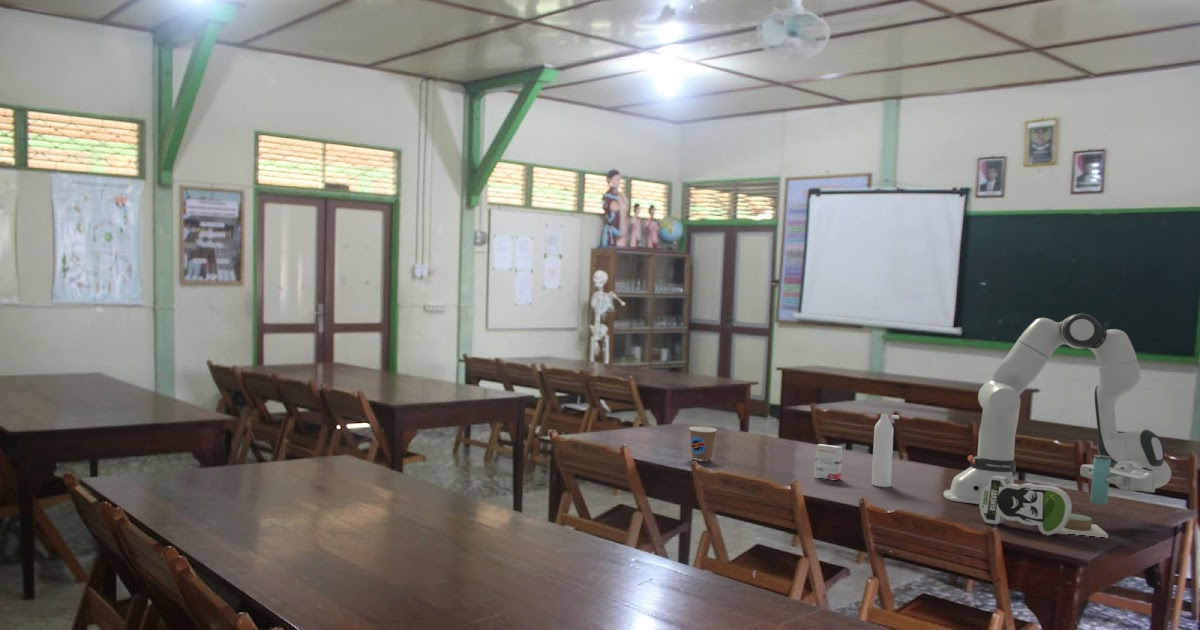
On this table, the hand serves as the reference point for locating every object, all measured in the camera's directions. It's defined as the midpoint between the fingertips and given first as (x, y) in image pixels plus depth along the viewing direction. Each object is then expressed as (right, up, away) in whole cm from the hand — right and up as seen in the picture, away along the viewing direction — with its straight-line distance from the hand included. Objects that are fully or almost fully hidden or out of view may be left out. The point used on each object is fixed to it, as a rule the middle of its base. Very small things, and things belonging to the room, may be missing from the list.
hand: (1098, 477), depth 281 cm
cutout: (-26, -14, -7) cm, 30 cm away
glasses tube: (0, -8, +1) cm, 8 cm away
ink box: (-68, -10, +55) cm, 88 cm away
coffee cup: (-110, -7, +81) cm, 137 cm away
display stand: (-10, -14, -7) cm, 19 cm away
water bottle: (-50, -11, +46) cm, 69 cm away
